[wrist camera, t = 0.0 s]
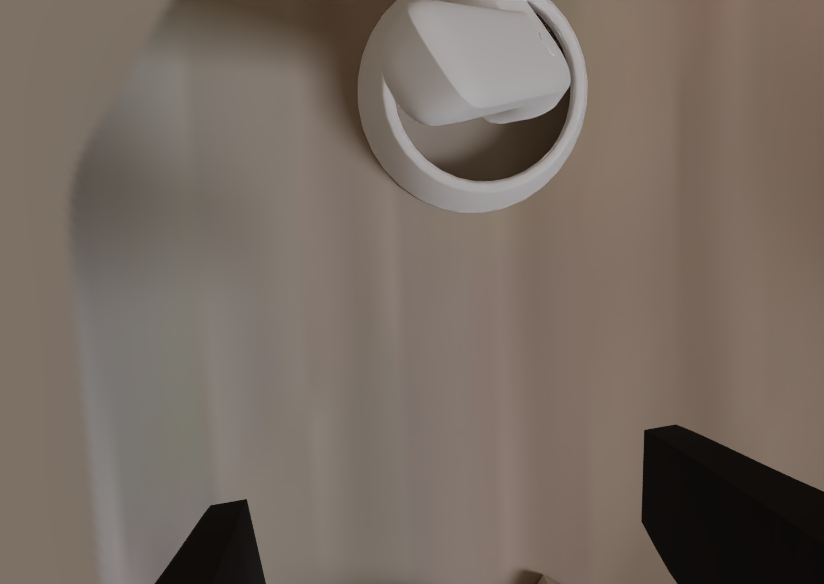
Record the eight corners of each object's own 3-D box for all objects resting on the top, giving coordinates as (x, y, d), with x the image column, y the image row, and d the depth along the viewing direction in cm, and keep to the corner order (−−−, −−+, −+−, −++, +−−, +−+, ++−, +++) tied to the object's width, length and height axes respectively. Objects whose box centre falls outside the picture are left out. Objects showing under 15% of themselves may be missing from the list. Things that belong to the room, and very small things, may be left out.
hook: (122, 111, 14) (272, -185, 10) (378, 75, 24) (505, -84, 20) (330, 361, 14) (563, 161, 10) (502, 222, 24) (655, 92, 20)
